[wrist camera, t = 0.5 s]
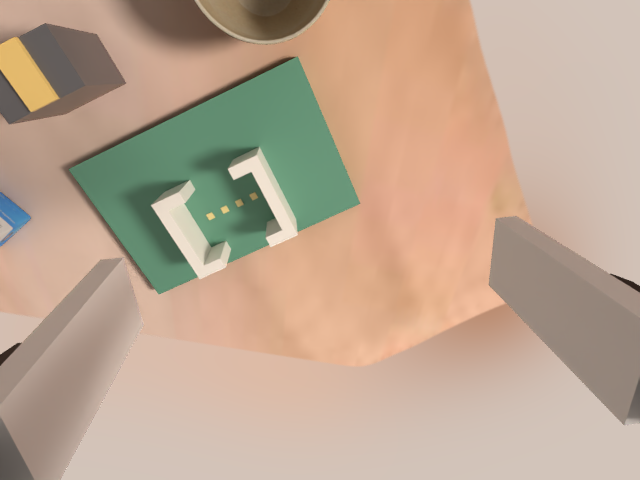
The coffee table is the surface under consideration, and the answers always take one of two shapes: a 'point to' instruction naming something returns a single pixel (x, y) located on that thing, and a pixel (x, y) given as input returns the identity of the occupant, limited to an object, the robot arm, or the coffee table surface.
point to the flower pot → (263, 18)
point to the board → (221, 179)
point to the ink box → (10, 218)
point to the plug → (53, 73)
